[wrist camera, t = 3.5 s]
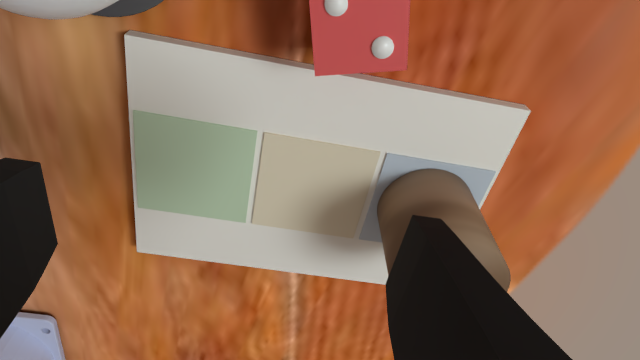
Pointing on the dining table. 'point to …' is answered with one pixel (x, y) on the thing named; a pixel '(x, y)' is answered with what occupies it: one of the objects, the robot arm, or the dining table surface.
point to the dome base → (127, 7)
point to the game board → (289, 155)
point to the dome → (55, 7)
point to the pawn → (438, 216)
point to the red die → (359, 36)
